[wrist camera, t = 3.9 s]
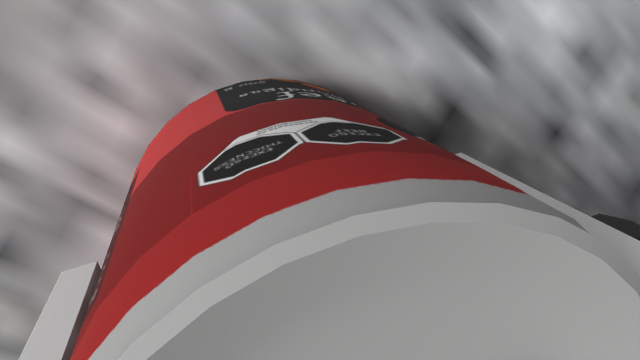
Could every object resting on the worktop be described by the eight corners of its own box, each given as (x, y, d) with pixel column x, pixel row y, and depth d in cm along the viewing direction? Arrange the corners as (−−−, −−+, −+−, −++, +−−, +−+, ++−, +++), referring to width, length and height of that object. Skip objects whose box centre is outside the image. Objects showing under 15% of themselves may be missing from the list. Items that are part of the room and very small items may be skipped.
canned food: (426, 175, 17) (773, 406, 7) (272, 349, 18) (387, 795, 8) (251, 14, 14) (411, 8, 4) (74, 227, 15) (-169, 681, 5)
